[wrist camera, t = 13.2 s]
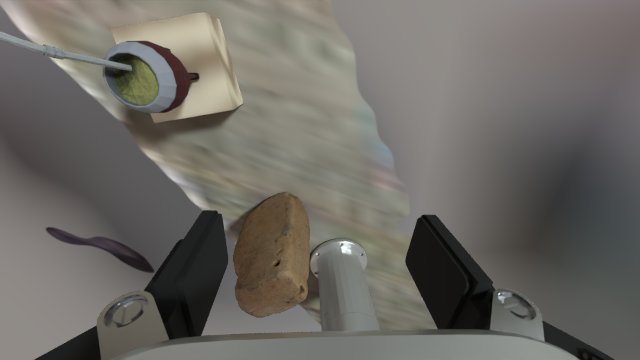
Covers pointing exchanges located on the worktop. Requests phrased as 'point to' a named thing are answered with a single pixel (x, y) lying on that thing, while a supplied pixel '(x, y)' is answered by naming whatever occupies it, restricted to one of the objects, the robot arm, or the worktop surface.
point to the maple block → (192, 61)
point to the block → (273, 257)
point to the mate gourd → (132, 73)
